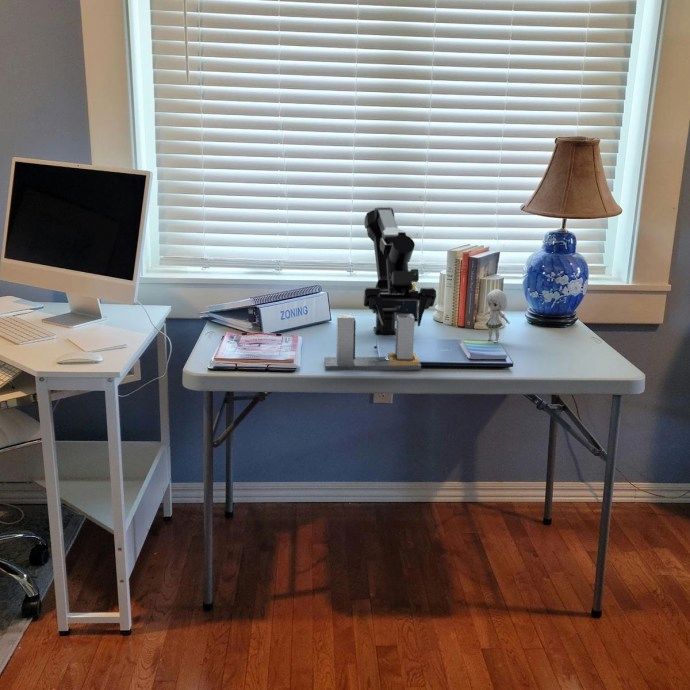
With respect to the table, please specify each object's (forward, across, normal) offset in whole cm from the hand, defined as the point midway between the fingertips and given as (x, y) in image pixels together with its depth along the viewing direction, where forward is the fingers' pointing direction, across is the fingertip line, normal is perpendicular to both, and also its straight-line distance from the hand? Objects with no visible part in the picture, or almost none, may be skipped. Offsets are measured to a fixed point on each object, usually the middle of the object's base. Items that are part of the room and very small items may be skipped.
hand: (401, 325), depth 201 cm
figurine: (-5, +29, +18) cm, 35 cm away
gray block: (+10, 0, +2) cm, 10 cm away
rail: (+10, -8, +2) cm, 13 cm away
